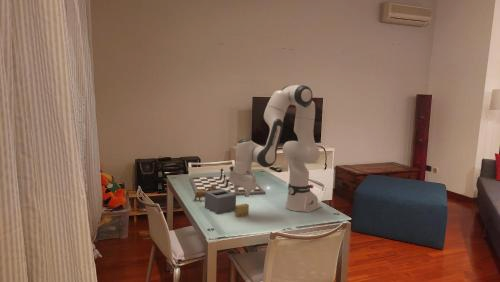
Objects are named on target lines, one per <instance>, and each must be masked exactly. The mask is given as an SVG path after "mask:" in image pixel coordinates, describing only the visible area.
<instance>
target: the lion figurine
mask: <svg viewBox="0 0 500 282" xmlns="http://www.w3.org/2000/svg"><path fill="white" fill-rule="evenodd" d="M213 190H216V186H211V187H210V188H209V189H208V190H206V191H202V190H199V191H197V192H196V194H195V195H194V199H193V200H192V202H195V201H196V202H197V201H199V202H200V203H202V202H203V201H202V197H201V195H202V196H204V197H203V198H205V192H207V191H213ZM196 195H197V196H196ZM197 197H198V198H197Z"/></svg>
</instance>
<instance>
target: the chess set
mask: <svg viewBox="0 0 500 282" xmlns="http://www.w3.org/2000/svg"><path fill="white" fill-rule="evenodd" d="M219 170H220V176H191V177H189V182H190V184H191V187H192V189H193V192H194V194H195V195H196V192H197V191H199V190H202V191H206V190H208V189H209V188H210V187H211V186H216V190H219V189H224V190H226V191H228V192H231V193H233V194H235V195H236V197H238V196H245V193H246V192H247V191H246V189H245V188H242V187H240V186H238V189H239V192H238V193H236V192H235V189H234V184H233V183H230V181H229V175H226V174H225V171H224V168H220V169H219ZM255 195H259V196H261V195H266V191H265V190H264V189H263V188H262V187H261V186H260V185H258V183H256V189H255V190H253V191H251V192H250V194H249V196H255ZM196 196H197V195H196ZM201 198H205V197H204V196H202V195H201ZM196 199H199V197H197V198H196Z"/></svg>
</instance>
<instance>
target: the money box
mask: <svg viewBox="0 0 500 282" xmlns="http://www.w3.org/2000/svg"><path fill="white" fill-rule="evenodd" d="M236 199H237V196H236V195H235V194H233V193H231V192H228V191H226V190H224V189H219V190H213V191H207V192H205V197H204V208H206V209H208V210H209V209H210V211H212V212H213V213H215V214H217V215H220V214H223V213H230V212H234V211H235V210H236V203H237V200H236Z"/></svg>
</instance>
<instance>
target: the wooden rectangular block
mask: <svg viewBox="0 0 500 282" xmlns="http://www.w3.org/2000/svg"><path fill="white" fill-rule="evenodd" d="M249 208H250V205H249V204H248V203H242V204H238V205H236V210H235V217H236V218H238V219H239V218H243V217H246V216H249Z"/></svg>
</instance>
